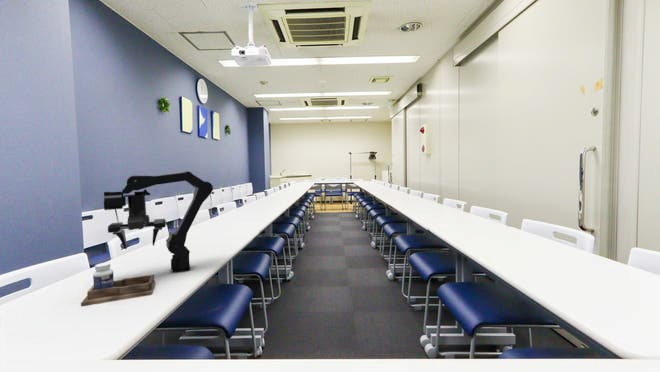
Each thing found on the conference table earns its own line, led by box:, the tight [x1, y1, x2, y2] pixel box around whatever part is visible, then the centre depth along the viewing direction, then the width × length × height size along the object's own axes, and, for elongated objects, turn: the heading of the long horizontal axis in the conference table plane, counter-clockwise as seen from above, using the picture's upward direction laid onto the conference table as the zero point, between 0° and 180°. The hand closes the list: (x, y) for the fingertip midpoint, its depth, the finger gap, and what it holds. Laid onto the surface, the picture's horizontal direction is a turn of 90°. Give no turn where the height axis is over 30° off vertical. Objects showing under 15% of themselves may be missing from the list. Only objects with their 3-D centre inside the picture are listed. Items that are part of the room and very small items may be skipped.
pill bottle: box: [92, 262, 115, 290], centre depth 101 cm, size 5×5×10 cm
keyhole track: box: [80, 274, 156, 307], centre depth 104 cm, size 19×12×4 cm, turn 115°
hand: (139, 247), depth 119 cm, fingers open, 9 cm apart
